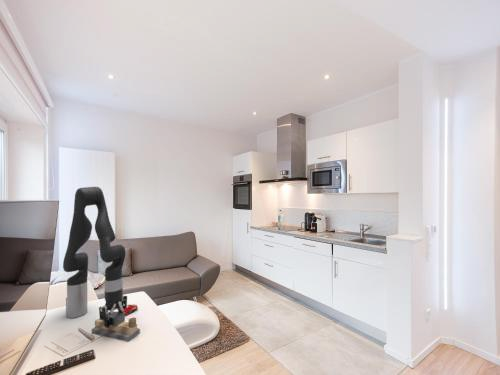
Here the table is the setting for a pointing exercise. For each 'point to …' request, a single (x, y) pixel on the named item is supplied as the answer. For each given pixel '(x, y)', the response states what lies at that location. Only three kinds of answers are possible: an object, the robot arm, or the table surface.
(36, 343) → the table surface
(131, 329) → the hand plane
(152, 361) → the table surface
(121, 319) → the grey rectangular box
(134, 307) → the race car
